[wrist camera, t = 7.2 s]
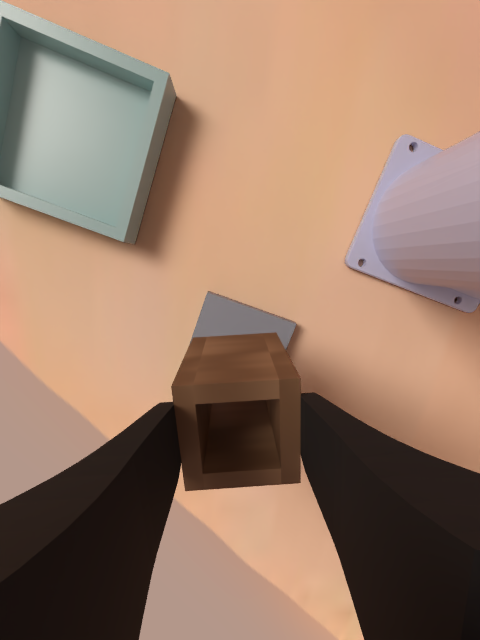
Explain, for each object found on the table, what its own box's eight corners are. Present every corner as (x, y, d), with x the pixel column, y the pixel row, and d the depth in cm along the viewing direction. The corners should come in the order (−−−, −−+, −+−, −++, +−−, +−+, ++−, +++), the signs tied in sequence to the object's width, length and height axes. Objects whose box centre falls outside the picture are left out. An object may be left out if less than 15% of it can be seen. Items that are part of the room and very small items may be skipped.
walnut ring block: (276, 332, 14) (300, 378, 9) (277, 406, 15) (300, 482, 10) (192, 337, 14) (171, 386, 9) (200, 411, 15) (185, 491, 10)
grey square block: (293, 321, 18) (310, 337, 14) (261, 399, 19) (269, 434, 15) (208, 290, 18) (201, 299, 14) (180, 373, 19) (166, 402, 15)
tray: (176, 95, 15) (169, 73, 13) (134, 244, 17) (123, 241, 15) (20, 28, 14) (-9, -4, 13) (-8, 192, 16) (-38, 183, 14)
